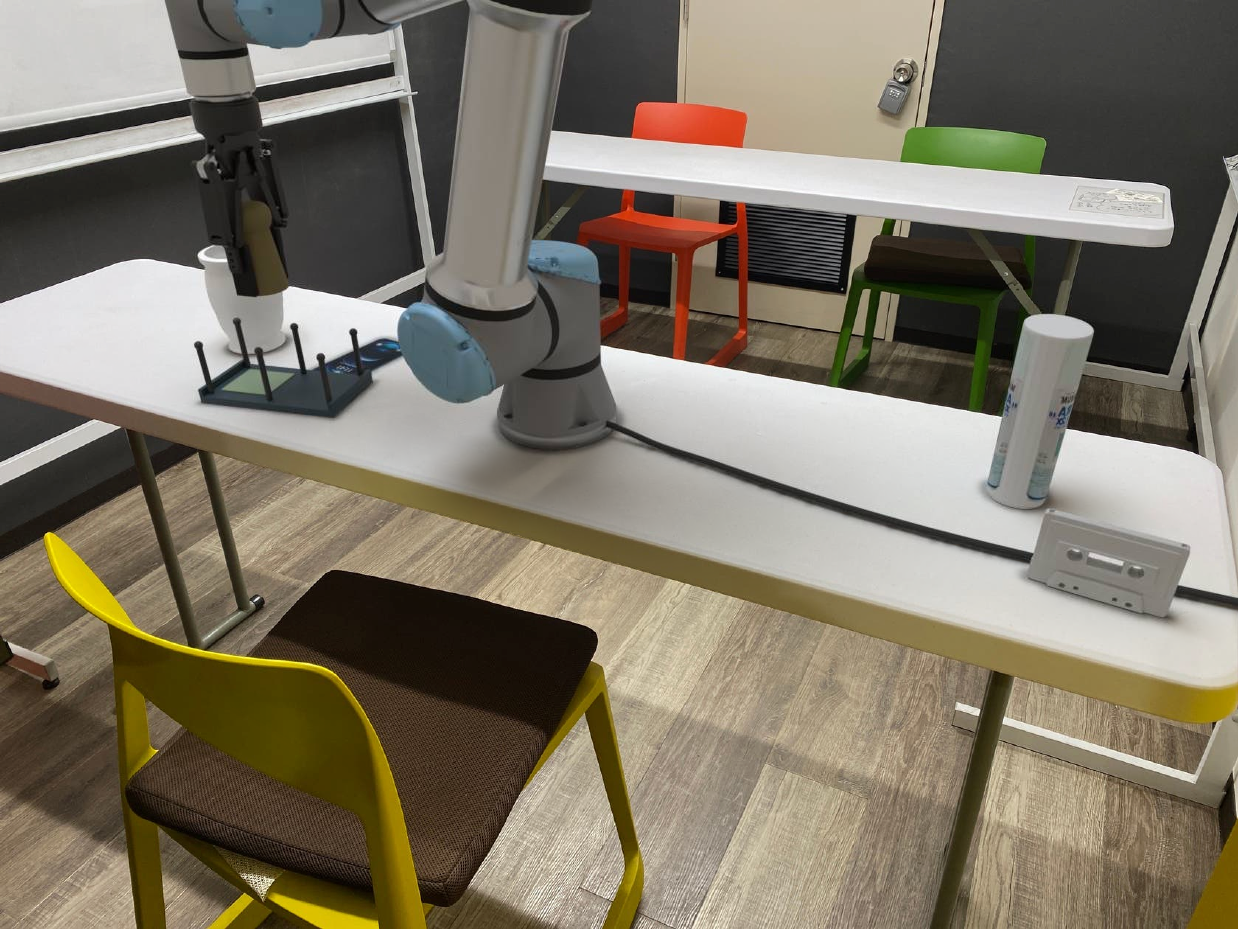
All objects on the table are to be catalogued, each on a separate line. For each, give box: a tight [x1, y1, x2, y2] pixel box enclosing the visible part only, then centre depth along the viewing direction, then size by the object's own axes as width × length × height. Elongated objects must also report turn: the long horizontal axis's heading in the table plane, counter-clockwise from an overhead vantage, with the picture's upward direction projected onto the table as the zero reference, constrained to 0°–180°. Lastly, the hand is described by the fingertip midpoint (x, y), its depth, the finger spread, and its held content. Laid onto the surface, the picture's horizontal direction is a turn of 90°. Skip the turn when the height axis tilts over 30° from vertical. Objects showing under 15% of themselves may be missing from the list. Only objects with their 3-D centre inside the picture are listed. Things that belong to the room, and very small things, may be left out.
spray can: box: [986, 313, 1095, 510], centre depth 95 cm, size 6×6×20 cm
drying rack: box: [193, 318, 374, 419], centre depth 122 cm, size 20×11×9 cm, turn 76°
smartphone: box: [312, 338, 403, 375], centre depth 134 cm, size 8×1×15 cm
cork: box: [242, 200, 290, 296], centre depth 113 cm, size 6×6×11 cm
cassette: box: [1027, 508, 1191, 618], centre depth 83 cm, size 12×2×8 cm, turn 59°
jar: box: [197, 245, 287, 355], centre depth 135 cm, size 11×10×15 cm
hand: (263, 285), depth 116 cm, fingers closed on cork, 6 cm apart
